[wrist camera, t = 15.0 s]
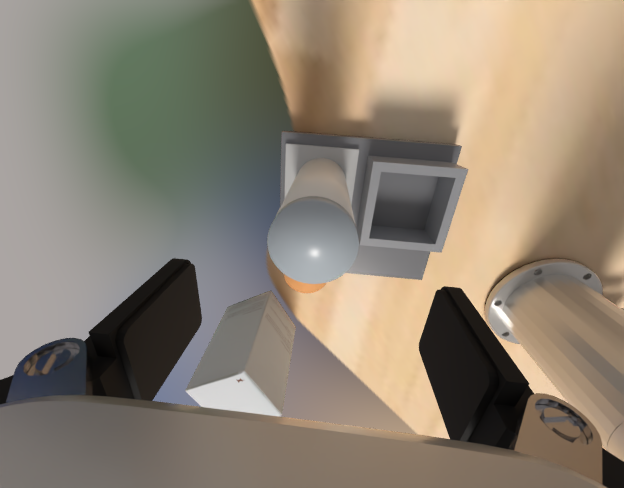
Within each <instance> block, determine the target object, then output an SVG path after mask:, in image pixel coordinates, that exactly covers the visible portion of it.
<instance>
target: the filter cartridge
mask: <svg viewBox="0 0 624 488" xmlns="http://www.w3.org/2000/svg"><path fill="white" fill-rule="evenodd" d="M267 245H268V251H269V254H270V257H271V259H272V261H273V262H274V264H275V265H276V267H277V268H278V269H279V270H280V271H281V272H282V273H284V274H285V275H286V276H288V277H290V278H292V279H294V280H296V281H299V282H303V283H308V284H321V283H326V282H330V281H332V280H335V279H337V278H339V277H340V276H342V275H343V274H344V273H346V272H347V271H348V270H349V269H350V267H351V266H352V265H353V263H354V261H355V259H356V257H357V254H358V249H359V239H358V234H357V229H356V225H355V220H354V216H353V211H352V206H351V202H350V197H349V192H348V188H347V183H346V178H345V175H344V172H343V170H342V169H341V167H340V166H339V165H338V164H337V163H336V162H334V161H332V160H330V159H327V158H315V159H312V160H310V161H308V162H307V163H305V164H304V165H303V166H302V167H301V169H300V170H299V172H298V174H297V176H296V178H295V180H294V182H293V184H292V186H291V188H290V190H289V192H288V193H287V195H286V197H285V199H284V201H283V203H282V205H281V207H280V209H279V211H278V213H277V215H276V217H275V219H274V221H273V223H272V225H271V227H270V229H269V233H268V238H267Z"/></svg>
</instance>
